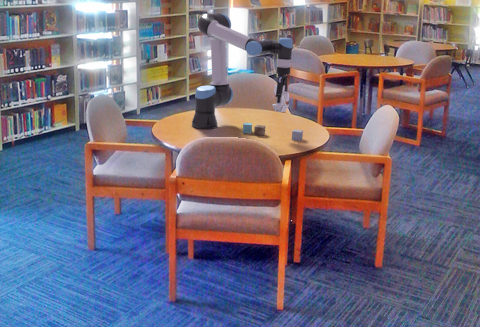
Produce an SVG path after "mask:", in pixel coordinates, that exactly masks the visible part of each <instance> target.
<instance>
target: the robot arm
mask: <svg viewBox="0 0 480 327" xmlns="http://www.w3.org/2000/svg"><path fill="white" fill-rule="evenodd" d="M197 28H198V30H199V32H200V33H202V34H203V35H205V36H207V38H208V39H209V40H210V53H211V55H210V57H211V59H210V60H211V78H212V79H211V81H210V83H209V85H201V86H198V87H197V88H196V89H195V95H194V97H195V98H194V115H193V117H192V121H191V127H192V128H195V129H200V130H201V129H202V130H211V129H212V130H213V129H216V128H218V122H217V121H218V120H217V117H216V113H215V112H216V107H222V106H226V105H228V104H230V103H231V102H232V100H233V98H234V90H233V89H232V87H231V86H230V83H229V81H227V59H226V58H227V56H226V55H227V54H226V53H227V52H226V43H227V44H230V45H231V46H234V47H236V48H239V49H241V50H243V51H245V52H246V54H248V55H249V56H252V57H253V56H254V57H256V56H262V55H277V61H276V62H277V63H276V74H277V75H279V77H278V78H277V84H276V85H277V91H276V95H275V94H274V95H275V97H276V103H275V104H276V108H277V109H281V102H282V90H283V86H284V85H285V90H284V91H286V92H288V81H289V80H288V77H289V76H288V75H290V74H291V65H292V63H293V62H292V56H293V53H292V52H293V39H292V38H290V37H280V38H278V40H273V39H269V38H263V39H261V40H257V39H254V38H252V37H251V36H247V35H246V34H243V33H241V32H238V31H236V30H234V29H232V22H231V19H230V17H229V16H228V15H227V14H225V13H219V12H218V13H204V14H202V15H200V16H199V18H198V21H197ZM283 104H286V97H285V96H284V100H283Z"/></svg>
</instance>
